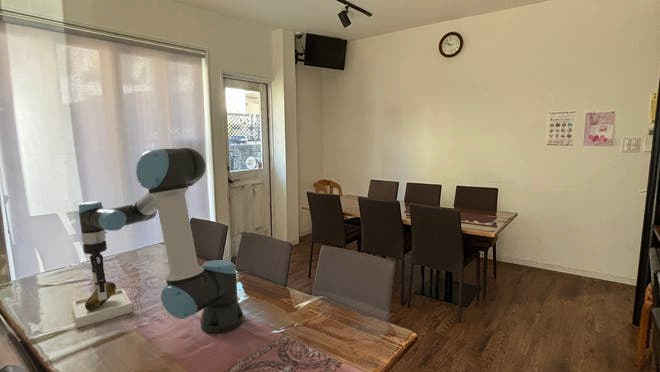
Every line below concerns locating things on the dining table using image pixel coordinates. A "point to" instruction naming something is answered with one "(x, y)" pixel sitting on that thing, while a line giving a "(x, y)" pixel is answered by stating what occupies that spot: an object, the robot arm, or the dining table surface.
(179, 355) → the dining table surface
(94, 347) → the dining table surface
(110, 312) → the rectangular tray
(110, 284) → the potato
